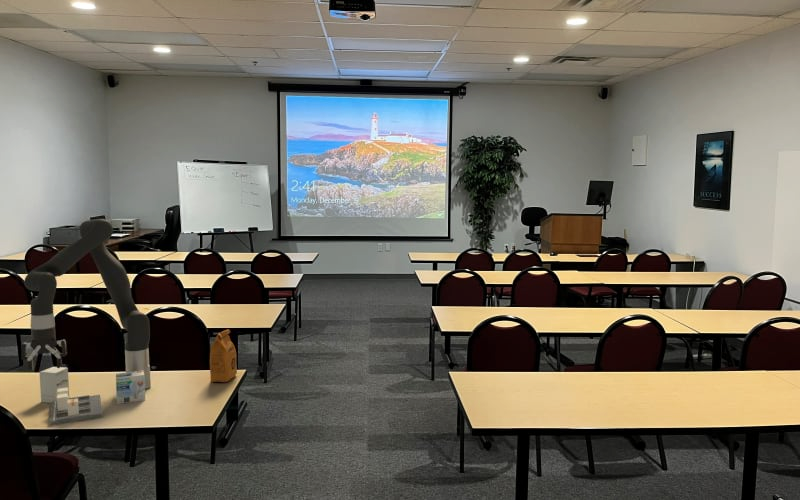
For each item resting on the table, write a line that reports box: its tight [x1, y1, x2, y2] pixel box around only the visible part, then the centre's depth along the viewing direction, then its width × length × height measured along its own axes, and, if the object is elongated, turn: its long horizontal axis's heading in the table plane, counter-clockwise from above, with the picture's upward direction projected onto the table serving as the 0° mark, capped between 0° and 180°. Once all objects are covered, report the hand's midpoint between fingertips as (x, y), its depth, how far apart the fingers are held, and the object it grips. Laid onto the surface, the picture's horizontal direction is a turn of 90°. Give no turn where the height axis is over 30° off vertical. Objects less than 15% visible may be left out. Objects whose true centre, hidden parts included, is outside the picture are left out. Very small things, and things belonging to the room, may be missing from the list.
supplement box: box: [38, 366, 70, 404], centre depth 239 cm, size 7×7×13 cm
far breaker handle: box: [57, 387, 69, 400], centre depth 232 cm, size 4×4×5 cm
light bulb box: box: [115, 370, 146, 405], centre depth 240 cm, size 11×7×11 cm, turn 117°
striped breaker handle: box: [67, 398, 79, 416], centre depth 221 cm, size 4×4×5 cm
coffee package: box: [209, 329, 238, 383], centre depth 265 cm, size 10×12×22 cm
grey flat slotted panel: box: [49, 394, 104, 427], centre depth 228 cm, size 17×22×2 cm
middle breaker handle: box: [57, 393, 69, 411], centre depth 226 cm, size 4×4×5 cm
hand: (45, 369), depth 218 cm, fingers open, 8 cm apart
